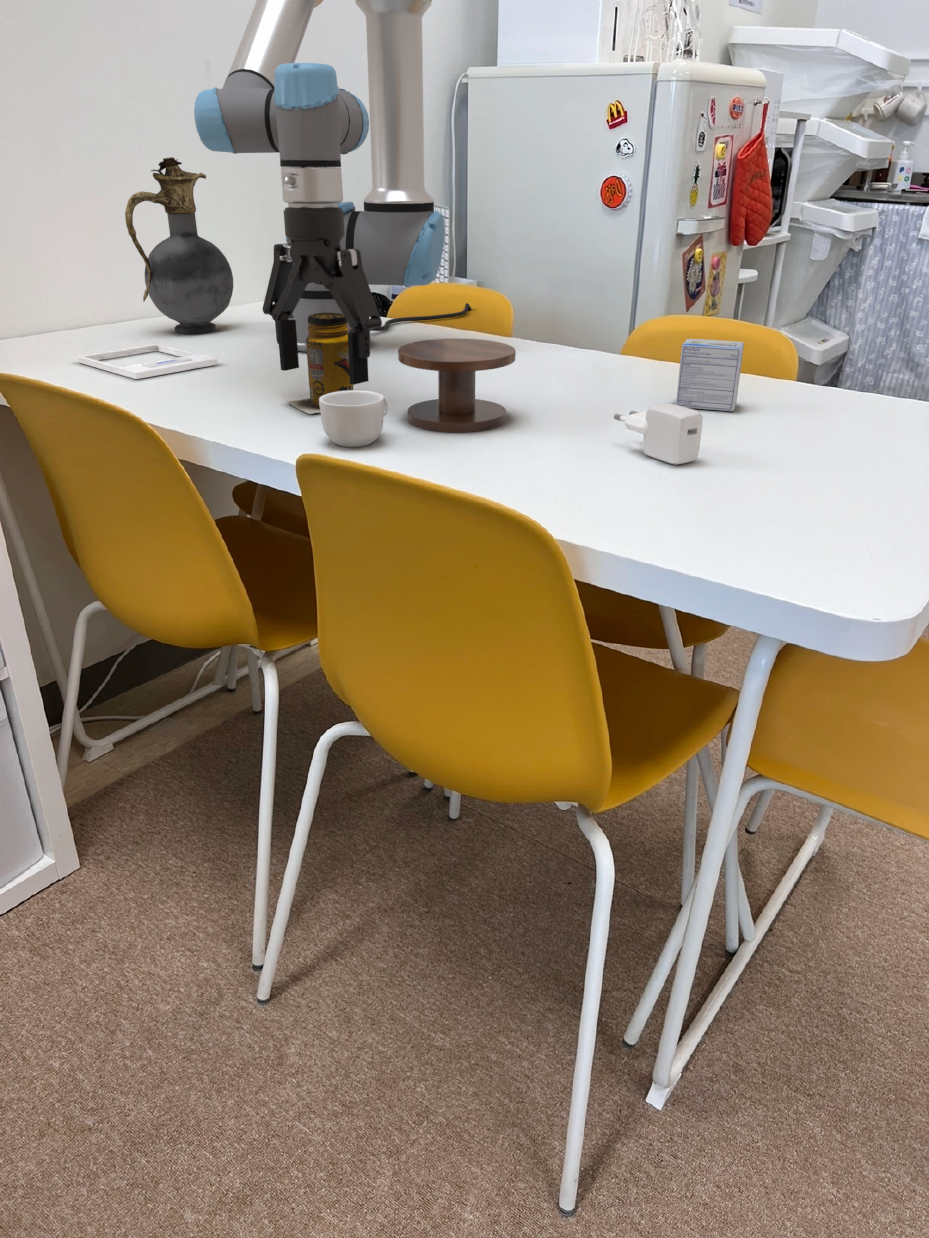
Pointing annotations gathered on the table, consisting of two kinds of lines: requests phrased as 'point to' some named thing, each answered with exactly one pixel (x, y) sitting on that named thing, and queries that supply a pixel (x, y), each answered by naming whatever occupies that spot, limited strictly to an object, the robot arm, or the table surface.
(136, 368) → the photo frame
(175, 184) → the pitcher
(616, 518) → the table surface
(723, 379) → the medicine box
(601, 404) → the table surface
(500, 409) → the stand
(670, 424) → the power adapter
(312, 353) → the condiment
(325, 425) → the teacup
